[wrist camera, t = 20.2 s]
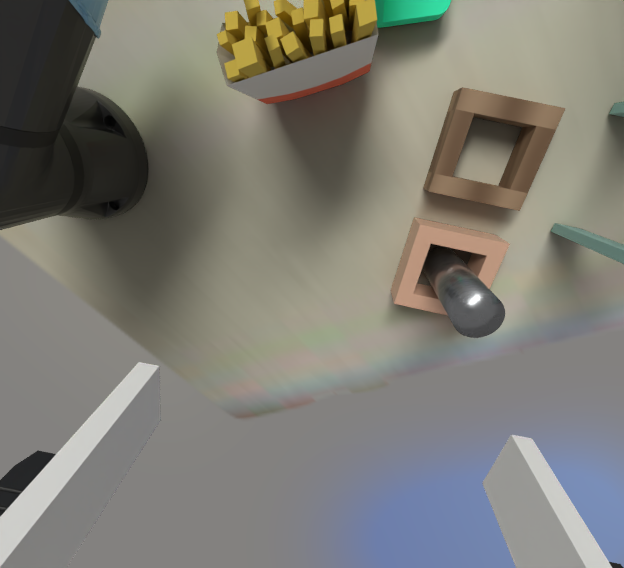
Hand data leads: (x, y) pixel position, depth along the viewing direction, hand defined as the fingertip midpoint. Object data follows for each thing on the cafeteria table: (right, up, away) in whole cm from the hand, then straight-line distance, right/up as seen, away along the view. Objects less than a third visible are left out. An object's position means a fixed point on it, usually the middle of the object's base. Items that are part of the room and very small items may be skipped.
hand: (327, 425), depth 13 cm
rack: (+16, +8, +30) cm, 35 cm away
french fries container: (0, +28, +23) cm, 37 cm away
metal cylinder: (+16, +8, +30) cm, 35 cm away
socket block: (+18, +20, +24) cm, 36 cm away
